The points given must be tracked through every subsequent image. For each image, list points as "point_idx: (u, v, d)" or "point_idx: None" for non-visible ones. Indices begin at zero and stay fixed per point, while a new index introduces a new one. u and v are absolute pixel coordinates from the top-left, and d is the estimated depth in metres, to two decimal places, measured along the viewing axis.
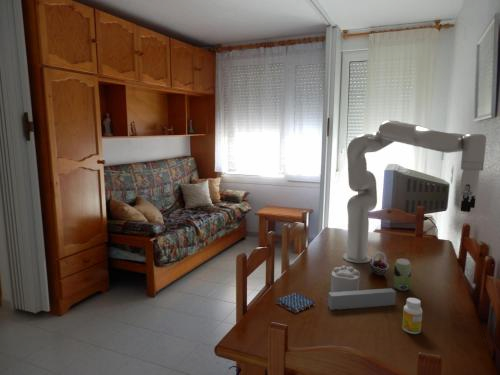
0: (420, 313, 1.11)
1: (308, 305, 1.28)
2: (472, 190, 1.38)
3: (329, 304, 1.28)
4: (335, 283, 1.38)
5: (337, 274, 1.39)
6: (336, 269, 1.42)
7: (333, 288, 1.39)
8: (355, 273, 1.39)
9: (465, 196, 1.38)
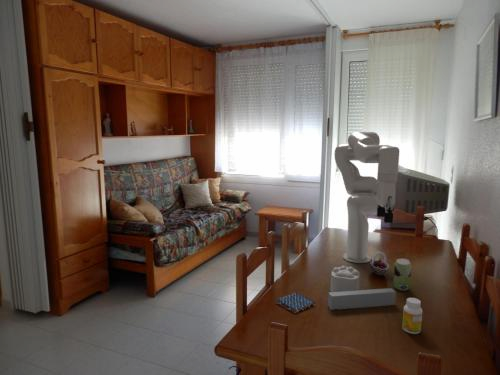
0: (420, 313, 1.11)
1: (308, 305, 1.28)
2: (394, 201, 1.42)
3: (329, 304, 1.28)
4: (335, 283, 1.38)
5: (337, 274, 1.38)
6: (336, 269, 1.42)
7: (333, 288, 1.39)
8: (355, 273, 1.39)
9: (391, 208, 1.40)
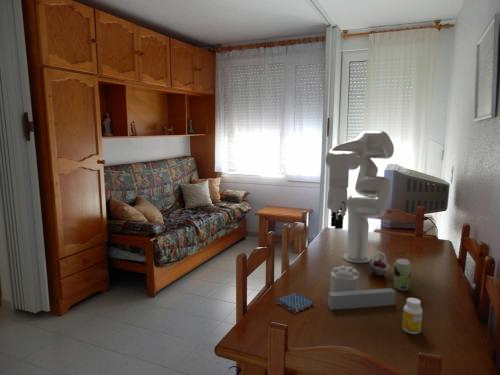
0: (420, 313, 1.11)
1: (308, 305, 1.28)
2: (346, 206, 1.45)
3: (329, 304, 1.28)
4: (335, 283, 1.38)
5: (336, 274, 1.38)
6: (335, 269, 1.42)
7: (332, 288, 1.39)
8: (354, 273, 1.39)
9: None
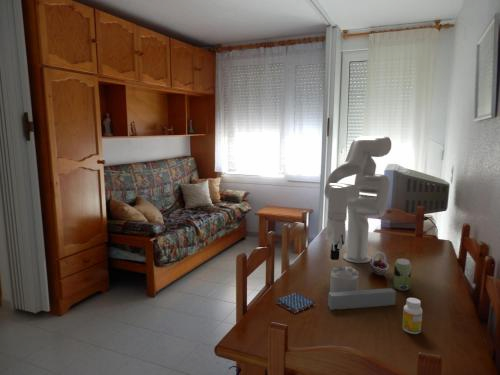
0: (420, 313, 1.11)
1: (308, 305, 1.28)
2: (344, 239, 1.46)
3: (329, 304, 1.28)
4: (335, 283, 1.38)
5: (336, 274, 1.38)
6: (335, 269, 1.42)
7: (332, 288, 1.39)
8: (354, 273, 1.39)
9: None
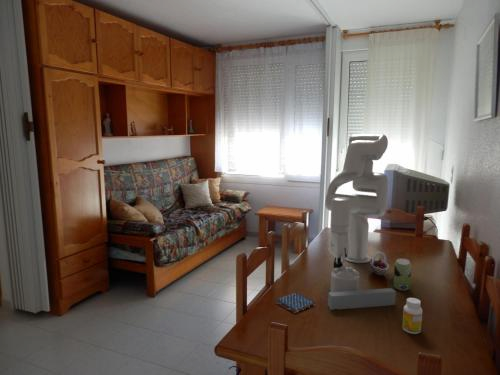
0: (420, 313, 1.11)
1: (308, 305, 1.28)
2: (347, 253, 1.44)
3: (329, 304, 1.28)
4: (335, 284, 1.37)
5: (337, 275, 1.38)
6: (336, 270, 1.41)
7: (333, 289, 1.38)
8: (355, 273, 1.38)
9: None
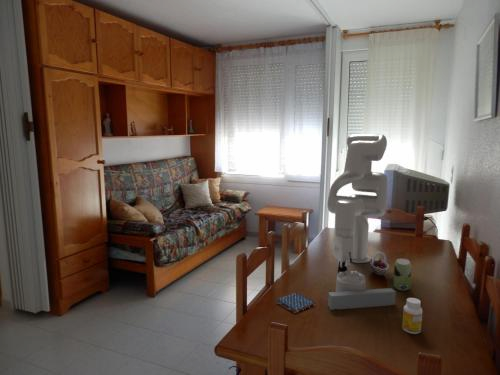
0: (420, 313, 1.11)
1: (308, 305, 1.28)
2: (352, 257, 1.40)
3: (329, 304, 1.28)
4: (341, 288, 1.33)
5: (343, 279, 1.33)
6: (341, 274, 1.37)
7: None
8: (361, 278, 1.34)
9: None
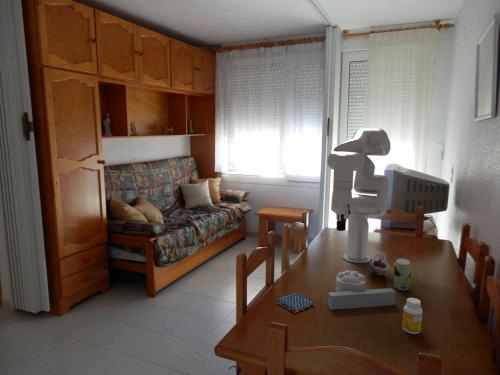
0: (420, 313, 1.11)
1: (308, 305, 1.28)
2: (351, 209, 1.41)
3: (329, 304, 1.28)
4: (341, 289, 1.33)
5: (343, 280, 1.33)
6: (341, 274, 1.37)
7: None
8: (361, 278, 1.34)
9: None
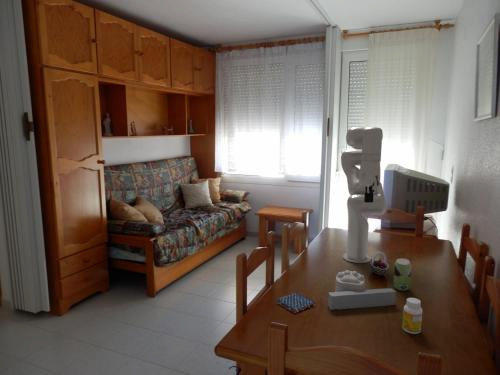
0: (420, 313, 1.11)
1: (308, 305, 1.28)
2: (379, 180, 1.47)
3: (329, 304, 1.28)
4: (341, 289, 1.33)
5: (342, 280, 1.33)
6: (340, 274, 1.37)
7: None
8: (360, 278, 1.34)
9: None
